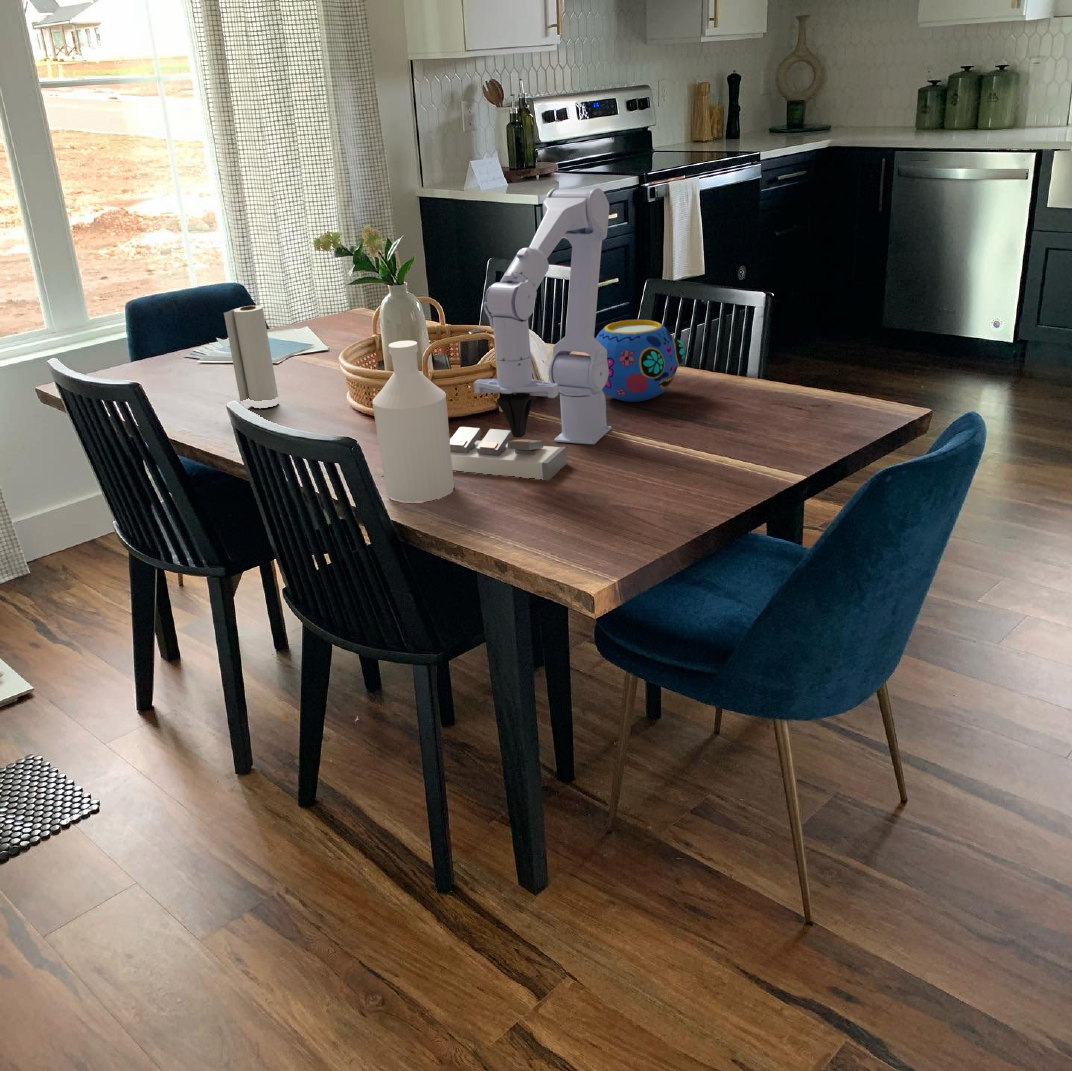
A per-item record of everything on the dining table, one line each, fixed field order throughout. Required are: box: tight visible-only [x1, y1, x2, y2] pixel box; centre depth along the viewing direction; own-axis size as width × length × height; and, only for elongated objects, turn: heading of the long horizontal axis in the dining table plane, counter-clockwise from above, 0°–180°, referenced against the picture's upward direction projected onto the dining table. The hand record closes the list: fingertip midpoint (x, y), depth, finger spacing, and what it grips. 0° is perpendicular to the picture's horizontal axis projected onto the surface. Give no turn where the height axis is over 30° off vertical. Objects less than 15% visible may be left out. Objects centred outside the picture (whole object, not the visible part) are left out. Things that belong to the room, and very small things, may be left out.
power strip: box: [449, 437, 568, 481], centre depth 188 cm, size 8×29×4 cm, turn 66°
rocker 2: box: [476, 428, 513, 456], centre depth 185 cm, size 6×4×1 cm, turn 156°
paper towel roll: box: [223, 305, 279, 402], centre depth 227 cm, size 7×6×21 cm
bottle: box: [371, 340, 455, 502], centre depth 174 cm, size 12×12×25 cm
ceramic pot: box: [595, 319, 686, 403], centre depth 215 cm, size 18×18×15 cm
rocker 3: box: [508, 438, 544, 450], centre depth 183 cm, size 6×4×1 cm, turn 156°
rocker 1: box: [450, 426, 482, 453], centre depth 188 cm, size 6×4×1 cm, turn 156°
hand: (519, 435), depth 180 cm, fingers closed
